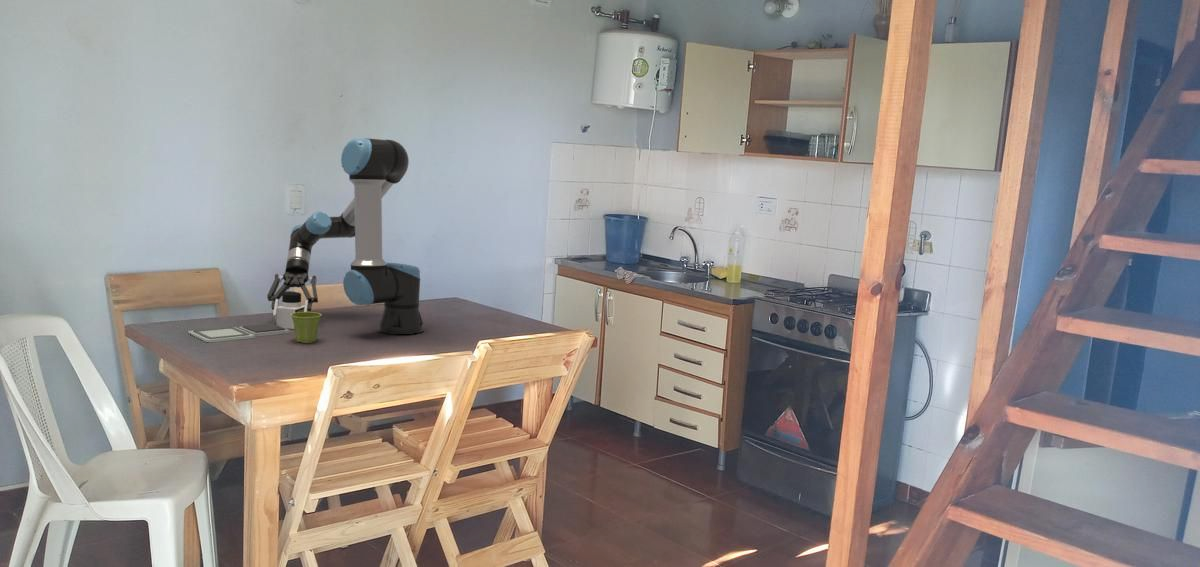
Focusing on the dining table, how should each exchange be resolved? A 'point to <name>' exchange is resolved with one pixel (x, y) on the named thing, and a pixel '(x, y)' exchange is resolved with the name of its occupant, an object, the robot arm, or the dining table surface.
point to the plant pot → (306, 326)
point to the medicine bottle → (289, 309)
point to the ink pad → (264, 329)
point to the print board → (221, 334)
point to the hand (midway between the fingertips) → (289, 317)
